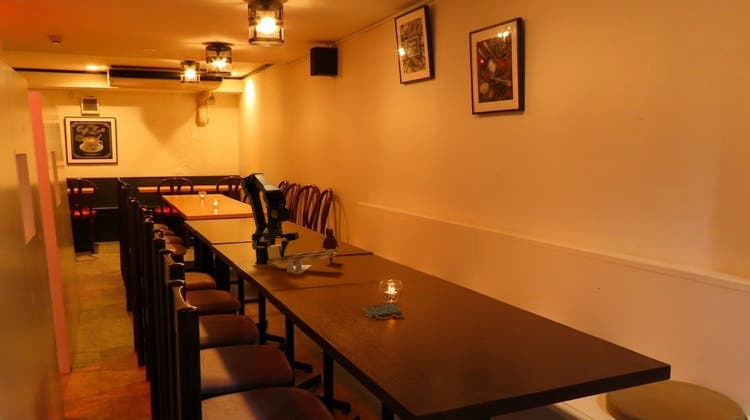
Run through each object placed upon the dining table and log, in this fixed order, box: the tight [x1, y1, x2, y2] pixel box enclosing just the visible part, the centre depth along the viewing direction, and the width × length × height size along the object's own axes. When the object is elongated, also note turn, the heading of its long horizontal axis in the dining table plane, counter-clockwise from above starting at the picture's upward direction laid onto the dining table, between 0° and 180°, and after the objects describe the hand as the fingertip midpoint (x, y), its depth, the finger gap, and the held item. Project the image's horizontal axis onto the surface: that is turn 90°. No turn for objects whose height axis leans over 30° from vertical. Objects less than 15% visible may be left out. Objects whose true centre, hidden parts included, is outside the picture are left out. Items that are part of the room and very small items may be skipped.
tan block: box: [267, 243, 285, 260], centre depth 242 cm, size 5×5×6 cm
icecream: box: [321, 227, 339, 263], centre depth 256 cm, size 7×7×15 cm
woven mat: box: [361, 302, 405, 321], centre depth 176 cm, size 10×11×2 cm
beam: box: [266, 248, 339, 266], centre depth 240 cm, size 28×8×2 cm, turn 80°
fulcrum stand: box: [286, 261, 313, 275], centre depth 241 cm, size 10×16×5 cm, turn 170°
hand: (276, 256), depth 242 cm, fingers closed on tan block, 5 cm apart
